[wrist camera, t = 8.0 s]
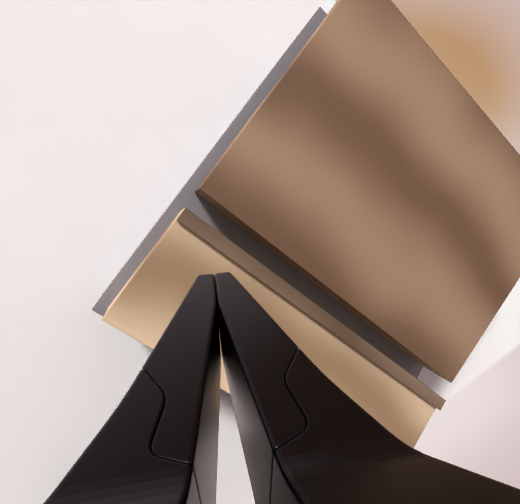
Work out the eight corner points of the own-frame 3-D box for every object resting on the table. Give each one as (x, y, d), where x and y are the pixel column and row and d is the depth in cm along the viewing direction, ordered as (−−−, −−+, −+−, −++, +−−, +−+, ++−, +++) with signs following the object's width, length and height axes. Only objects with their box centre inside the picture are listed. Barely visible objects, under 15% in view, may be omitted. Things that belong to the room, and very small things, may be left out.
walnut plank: (418, 363, 21) (451, 382, 19) (194, 191, 16) (199, 188, 14) (520, 208, 22) (564, 208, 20) (336, 2, 17) (364, -32, 15)
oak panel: (363, 458, 20) (395, 491, 18) (108, 306, 16) (100, 321, 13) (408, 379, 21) (445, 400, 19) (179, 211, 16) (185, 207, 14)
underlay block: (323, 424, 25) (364, 468, 20) (104, 291, 20) (91, 309, 15) (448, 217, 28) (510, 214, 23) (283, 53, 23) (319, 6, 18)
